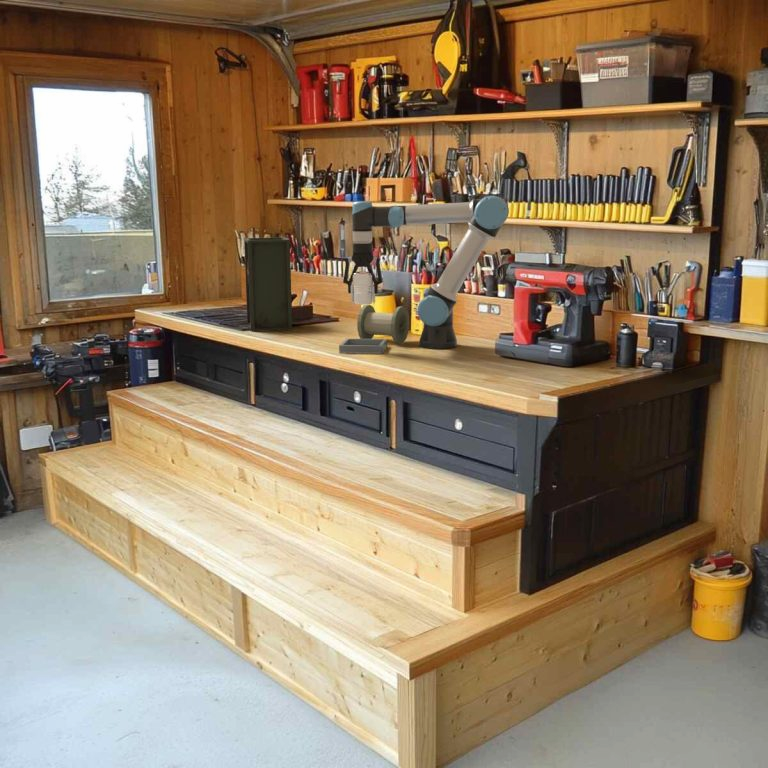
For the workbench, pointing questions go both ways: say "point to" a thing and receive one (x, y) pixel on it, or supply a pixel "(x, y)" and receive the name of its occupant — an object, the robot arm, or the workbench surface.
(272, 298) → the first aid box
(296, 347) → the workbench surface
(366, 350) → the tray
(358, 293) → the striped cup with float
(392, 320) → the spool
